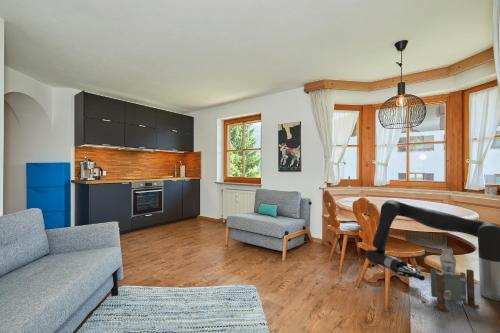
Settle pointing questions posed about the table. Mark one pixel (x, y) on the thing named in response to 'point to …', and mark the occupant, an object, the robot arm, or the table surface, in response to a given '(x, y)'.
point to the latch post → (441, 293)
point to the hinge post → (470, 290)
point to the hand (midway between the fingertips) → (423, 278)
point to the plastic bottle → (448, 261)
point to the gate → (451, 285)
